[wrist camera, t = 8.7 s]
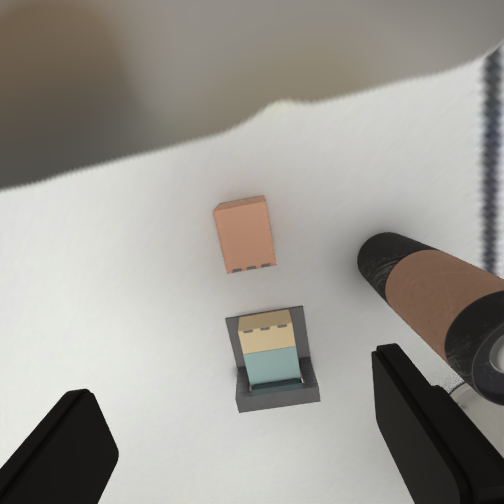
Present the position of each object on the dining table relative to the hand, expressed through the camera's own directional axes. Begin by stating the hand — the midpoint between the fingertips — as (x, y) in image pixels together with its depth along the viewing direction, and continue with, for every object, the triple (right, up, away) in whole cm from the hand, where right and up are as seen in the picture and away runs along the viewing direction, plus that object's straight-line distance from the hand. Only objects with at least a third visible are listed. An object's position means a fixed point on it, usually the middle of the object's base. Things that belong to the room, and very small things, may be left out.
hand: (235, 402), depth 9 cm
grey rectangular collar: (+4, -12, +32) cm, 34 cm away
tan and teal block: (+3, -9, +31) cm, 32 cm away
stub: (0, +8, +26) cm, 27 cm away
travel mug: (+18, +4, +27) cm, 33 cm away
